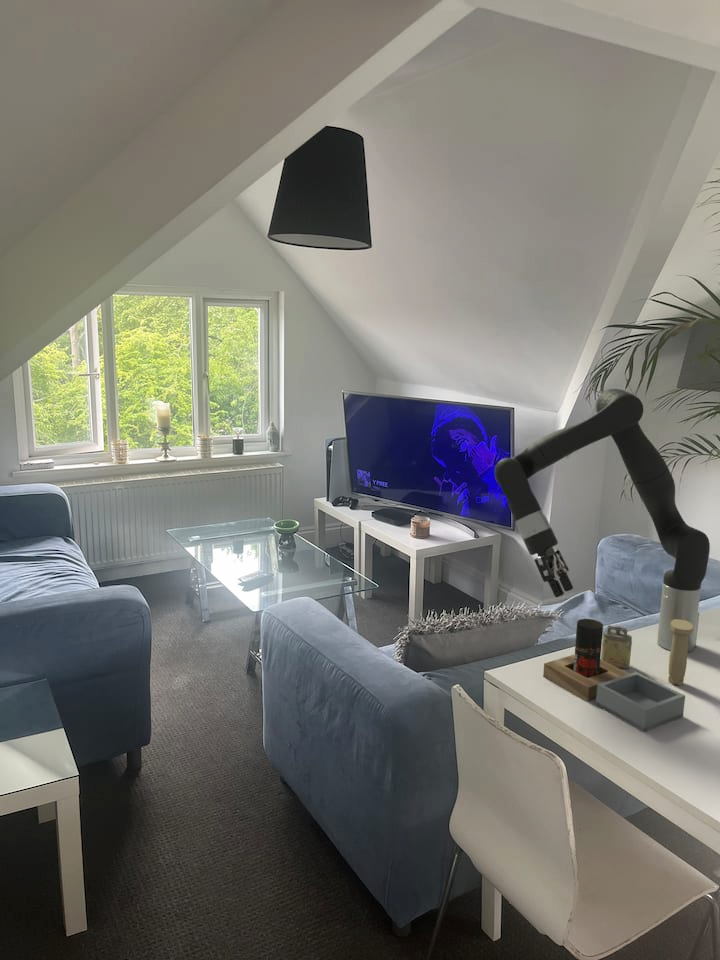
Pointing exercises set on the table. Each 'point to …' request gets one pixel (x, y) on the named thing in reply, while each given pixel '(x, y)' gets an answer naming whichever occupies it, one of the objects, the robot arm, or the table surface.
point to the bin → (640, 701)
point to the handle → (679, 650)
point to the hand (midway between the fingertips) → (564, 593)
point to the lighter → (616, 647)
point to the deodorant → (588, 647)
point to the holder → (579, 677)
